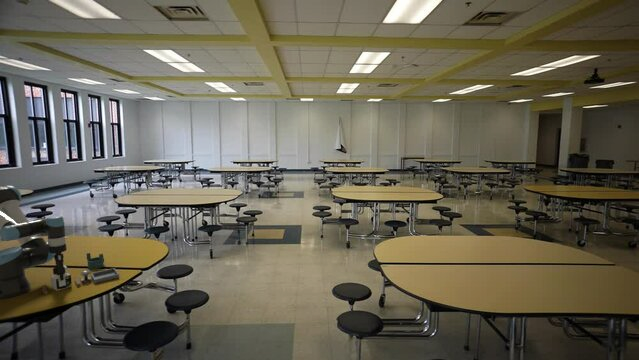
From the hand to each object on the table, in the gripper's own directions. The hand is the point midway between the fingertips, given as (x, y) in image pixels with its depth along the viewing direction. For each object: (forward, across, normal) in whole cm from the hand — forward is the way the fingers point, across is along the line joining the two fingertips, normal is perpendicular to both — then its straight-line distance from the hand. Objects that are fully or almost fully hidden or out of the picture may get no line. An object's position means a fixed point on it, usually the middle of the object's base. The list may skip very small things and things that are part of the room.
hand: (61, 281), depth 187 cm
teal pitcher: (+4, +23, -20) cm, 30 cm away
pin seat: (+3, 0, 0) cm, 3 cm away
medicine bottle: (+3, 0, 0) cm, 3 cm away
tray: (+3, -1, -20) cm, 21 cm away
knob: (+3, +2, -12) cm, 12 cm away
